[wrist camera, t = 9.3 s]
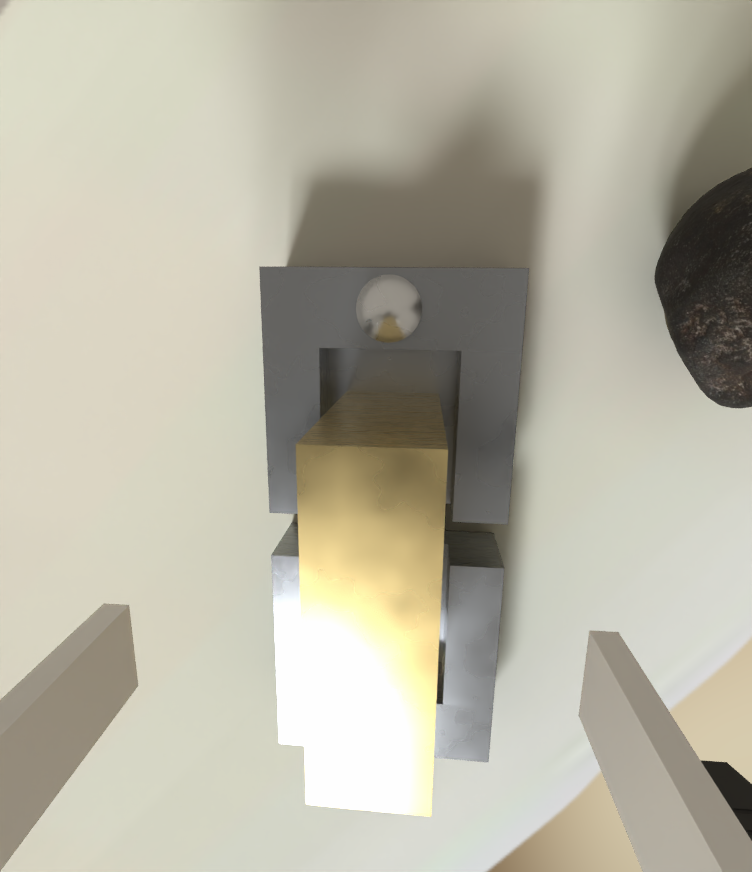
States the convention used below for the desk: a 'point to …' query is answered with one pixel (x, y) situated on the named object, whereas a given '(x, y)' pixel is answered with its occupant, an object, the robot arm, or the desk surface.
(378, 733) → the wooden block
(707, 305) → the stone
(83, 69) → the desk surface
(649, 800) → the robot arm
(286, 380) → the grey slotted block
